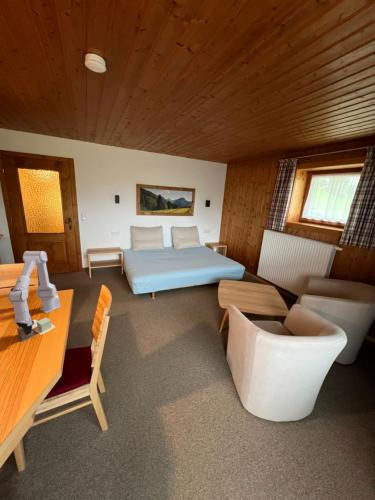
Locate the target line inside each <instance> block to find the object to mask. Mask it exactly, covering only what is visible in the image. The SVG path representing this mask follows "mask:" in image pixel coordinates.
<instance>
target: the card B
mask: <svg viewBox="0 0 375 500" xmlns="http://www.w3.org/2000/svg"><path fill="white" fill-rule="evenodd" d="M51 326H52V328H50V329H48V330H46V331H44V332H41V331H40V330H39V329H38V327H35V328H33V331H34V332H35V333H36V332H37V333H38V334H39V335H43V334H46V333H47V332H49V331H51V330H53V329H54V328H56V326H55V325H54V324H52V323H51Z"/></svg>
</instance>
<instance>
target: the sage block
mask: <svg viewBox="0 0 375 500" xmlns="http://www.w3.org/2000/svg"><path fill="white" fill-rule="evenodd" d="M51 324H52V321H51V319H49V318H48V317H43V318H42V319H40V320H37V327H36V328H38V329H39V330H40V331H41V332H44V331H46V330H48V329H50V328H52V326H51Z"/></svg>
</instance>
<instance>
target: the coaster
mask: <svg viewBox="0 0 375 500" xmlns="http://www.w3.org/2000/svg"><path fill="white" fill-rule="evenodd" d="M37 335H38V334H37V333H36V331H33V335H31V336H29V337H27V338H25V339H22V338H20V337H19V336H18V335H17V336H16V339H18V340H19V341H20V342H21V343H24V342H25V341H28V340H29V339H31V338H33V337H35V336H37Z"/></svg>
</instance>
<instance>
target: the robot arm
mask: <svg viewBox="0 0 375 500" xmlns="http://www.w3.org/2000/svg"><path fill="white" fill-rule="evenodd" d="M22 261H23V262H24V264H23V268H22V272H21V275H20V276H19V277H17V279H16V281H15V283H14V286H13V287H14V289H13V291H11V290H10V292H9V293H8V297H7V300H8V302H10V305H12V306H13V311H14V318H15V319H14V320H13V323H14V324H15V325H16V326H17V328H19V327H22V328H23V330H24V332H25V334H26V335H28V334H30V333H31V329H32V325H33V323H34V321H33V320H32V319H31V314H30V310H29V305H28V301H27V299H28V297H29V286H30V283H31V280H32V279H31V278H30V276H31V274H32V272H33V270H34V269H35V266H36V271H37V275H38V280H39V282H38V283H39V285H38V286H37V287H36V296H37V298H39V300H40V301H41V306H42V308H39V310H40V311H41V312H43V313H45V314H48V313H50V312H53V311H55V310H57V309H59V308H61V307H62V306H61V302H60V298H59V295H58V294H57V291H58V290H57V288H56V285H55V284H53V283H51V282H50V279H49V273H48V267H47V262H48V255H47V252H46V251H44V250H41V251H39V250H37V251H35V250H33V251H31V250H30V251H29V250H26V251H24V253H23V254H22Z"/></svg>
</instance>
